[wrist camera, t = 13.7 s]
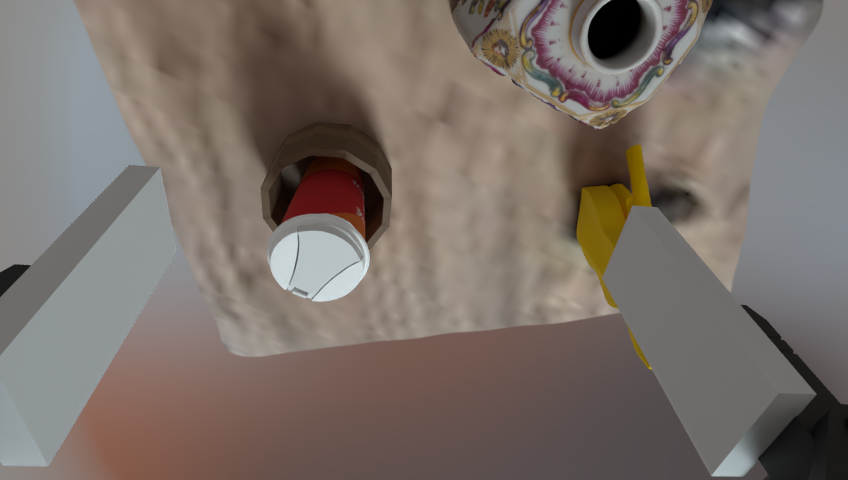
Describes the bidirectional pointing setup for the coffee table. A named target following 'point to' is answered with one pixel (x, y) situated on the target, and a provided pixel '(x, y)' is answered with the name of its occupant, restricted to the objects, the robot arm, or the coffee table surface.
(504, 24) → the decorative jar
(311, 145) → the ring
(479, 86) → the coffee table surface
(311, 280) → the coffee cup
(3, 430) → the robot arm
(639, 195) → the figure statuette
